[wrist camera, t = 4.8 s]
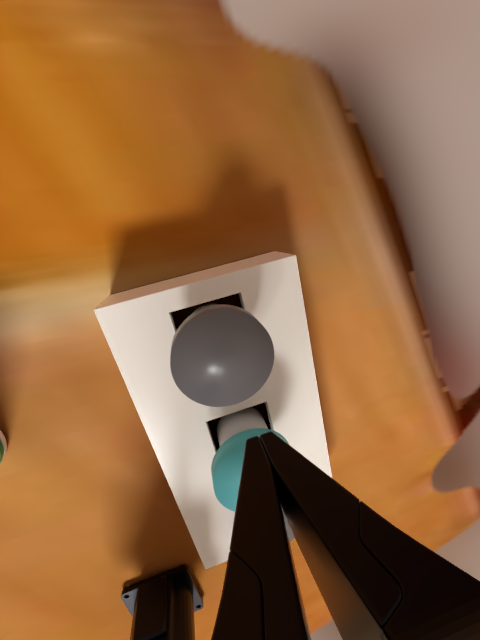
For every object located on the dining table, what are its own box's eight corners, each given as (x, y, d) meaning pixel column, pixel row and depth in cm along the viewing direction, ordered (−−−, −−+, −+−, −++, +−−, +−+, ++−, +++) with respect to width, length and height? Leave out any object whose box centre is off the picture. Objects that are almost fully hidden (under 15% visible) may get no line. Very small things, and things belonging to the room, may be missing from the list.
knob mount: (317, 478, 28) (338, 516, 25) (201, 522, 27) (205, 569, 23) (274, 251, 21) (296, 254, 17) (110, 295, 19) (93, 310, 16)
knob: (259, 353, 20) (282, 388, 15) (185, 376, 19) (188, 420, 14) (242, 281, 18) (263, 297, 13) (160, 304, 17) (154, 328, 13)
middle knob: (279, 442, 22) (304, 494, 18) (216, 465, 22) (225, 525, 17) (266, 387, 20) (291, 429, 16) (197, 410, 20) (202, 460, 15)
